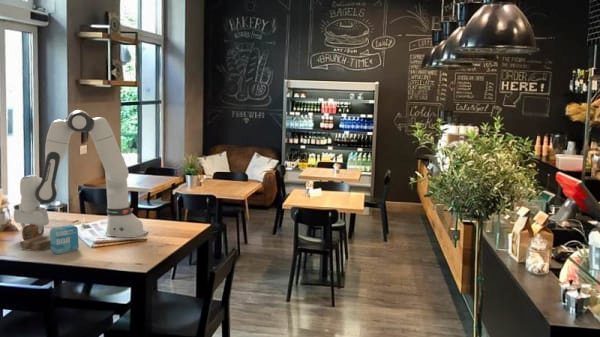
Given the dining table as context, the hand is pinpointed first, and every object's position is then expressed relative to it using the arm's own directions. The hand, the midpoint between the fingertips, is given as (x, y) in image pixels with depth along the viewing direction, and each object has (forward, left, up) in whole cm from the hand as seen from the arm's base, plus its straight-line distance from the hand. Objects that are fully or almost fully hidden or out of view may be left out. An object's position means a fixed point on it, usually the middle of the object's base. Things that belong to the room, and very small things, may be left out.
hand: (32, 232), depth 314 cm
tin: (0, 0, -4) cm, 4 cm away
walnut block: (-13, +5, -4) cm, 15 cm away
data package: (-31, +11, -4) cm, 33 cm away
